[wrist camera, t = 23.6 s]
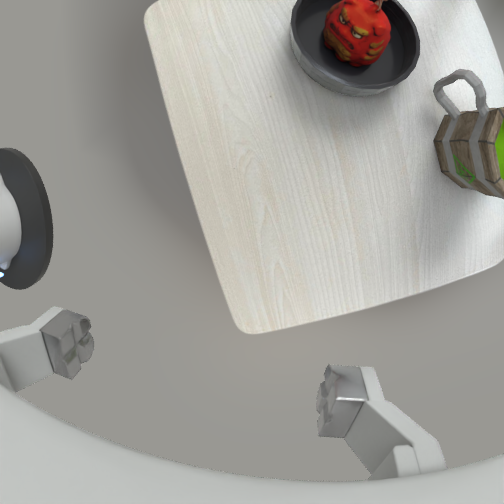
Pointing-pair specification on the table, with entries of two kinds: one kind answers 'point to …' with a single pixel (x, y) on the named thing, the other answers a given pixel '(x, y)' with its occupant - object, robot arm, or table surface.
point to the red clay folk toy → (357, 31)
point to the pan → (342, 73)
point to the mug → (471, 139)
